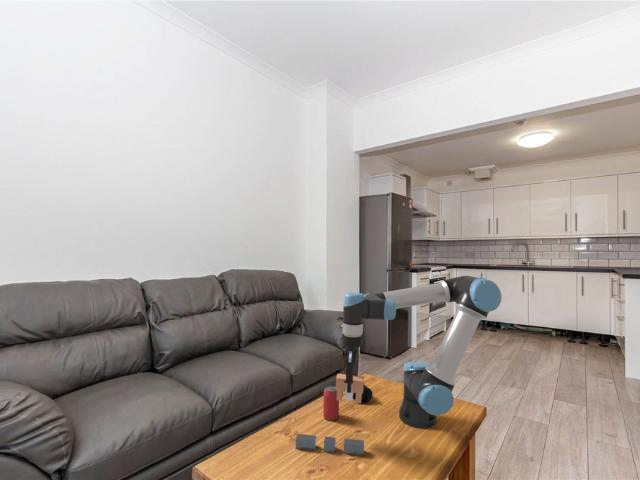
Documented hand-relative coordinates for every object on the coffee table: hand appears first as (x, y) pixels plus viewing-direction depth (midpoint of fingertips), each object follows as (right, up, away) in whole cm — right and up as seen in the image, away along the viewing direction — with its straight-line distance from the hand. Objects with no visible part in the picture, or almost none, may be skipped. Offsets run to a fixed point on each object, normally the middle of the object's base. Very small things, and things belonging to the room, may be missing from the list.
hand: (349, 397), depth 122 cm
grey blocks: (-7, -15, -7) cm, 18 cm away
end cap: (+8, -17, +33) cm, 37 cm away
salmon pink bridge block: (0, -1, 0) cm, 1 cm away
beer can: (-6, -16, +16) cm, 23 cm away
